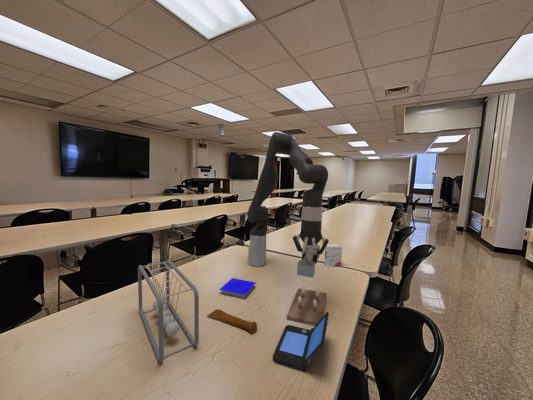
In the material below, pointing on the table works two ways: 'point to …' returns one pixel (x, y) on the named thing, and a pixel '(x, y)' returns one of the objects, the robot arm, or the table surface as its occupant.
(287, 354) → the handheld game console
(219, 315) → the primitive tool
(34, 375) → the table surface
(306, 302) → the tool cradle
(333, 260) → the ink box
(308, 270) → the grey stepped block
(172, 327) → the newton's cradle
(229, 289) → the blue square pad
